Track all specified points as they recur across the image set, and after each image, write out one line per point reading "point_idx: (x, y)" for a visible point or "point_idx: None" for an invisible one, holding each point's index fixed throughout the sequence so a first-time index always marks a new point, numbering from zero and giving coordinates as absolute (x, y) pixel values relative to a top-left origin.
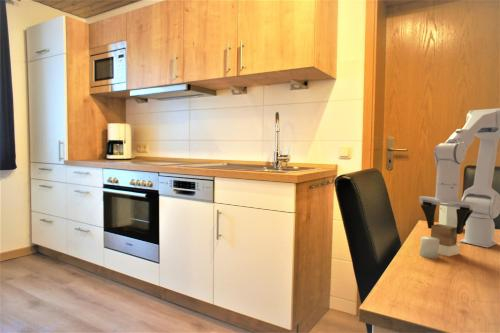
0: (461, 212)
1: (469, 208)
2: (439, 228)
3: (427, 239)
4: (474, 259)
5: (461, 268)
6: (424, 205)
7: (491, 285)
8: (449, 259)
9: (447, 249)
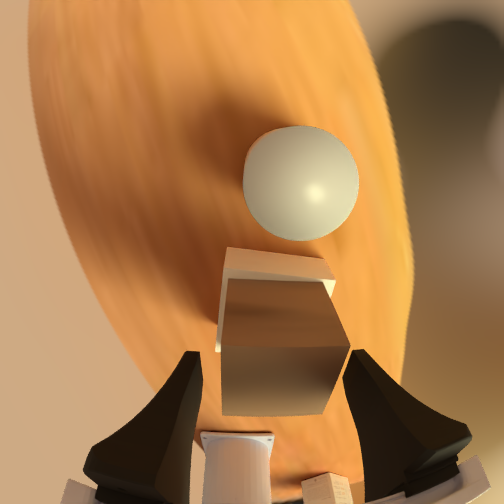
0: (118, 458)
1: (93, 495)
2: (293, 338)
3: (301, 128)
4: (151, 295)
5: (122, 109)
6: (456, 444)
7: (34, 44)
8: (203, 199)
9: (230, 261)
